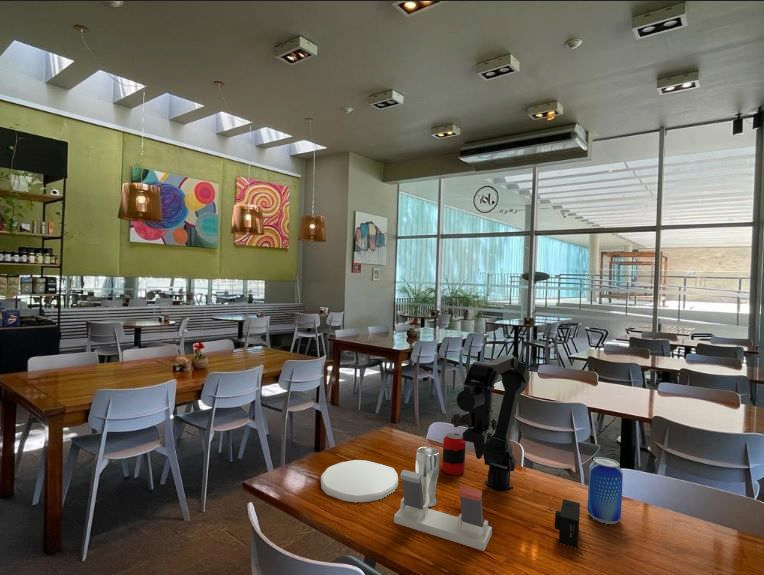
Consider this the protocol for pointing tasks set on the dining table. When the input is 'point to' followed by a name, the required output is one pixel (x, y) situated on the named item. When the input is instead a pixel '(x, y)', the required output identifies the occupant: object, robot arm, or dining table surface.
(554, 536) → the dining table surface
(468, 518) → the red-capped switch paddle
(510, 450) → the robot arm
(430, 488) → the beer glass
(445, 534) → the switch console
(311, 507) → the dining table surface
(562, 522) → the digital camera
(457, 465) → the soda can
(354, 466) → the white flat disc
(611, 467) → the beer can
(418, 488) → the grey lever
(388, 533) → the dining table surface
